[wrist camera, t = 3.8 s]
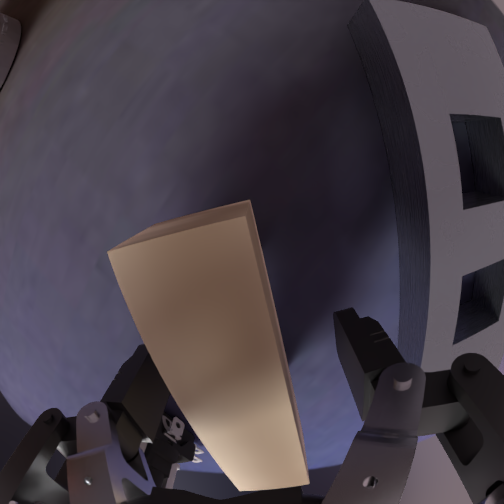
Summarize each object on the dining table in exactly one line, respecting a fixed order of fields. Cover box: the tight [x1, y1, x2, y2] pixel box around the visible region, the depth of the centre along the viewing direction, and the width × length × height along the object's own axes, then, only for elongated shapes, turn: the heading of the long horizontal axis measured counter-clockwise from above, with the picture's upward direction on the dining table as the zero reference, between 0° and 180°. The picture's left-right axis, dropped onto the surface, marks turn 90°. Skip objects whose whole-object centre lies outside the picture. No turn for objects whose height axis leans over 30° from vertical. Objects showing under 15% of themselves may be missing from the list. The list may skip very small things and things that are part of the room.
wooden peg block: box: [107, 200, 309, 491], centre depth 10 cm, size 3×11×7 cm, turn 13°
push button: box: [139, 412, 204, 489], centre depth 12 cm, size 7×5×10 cm
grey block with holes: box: [347, 0, 504, 372], centre depth 10 cm, size 8×22×3 cm, turn 13°
